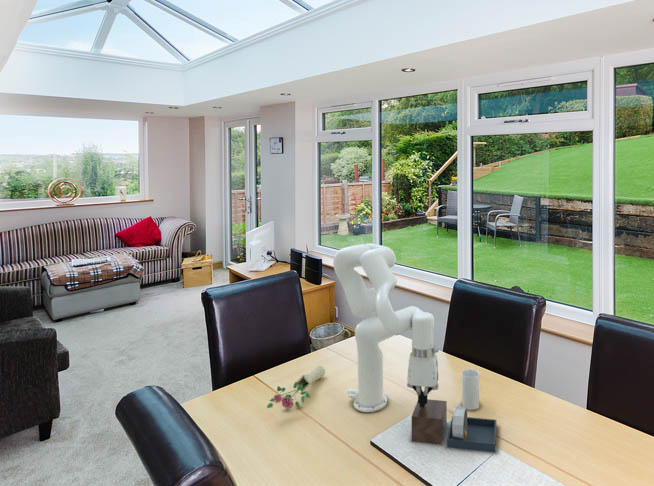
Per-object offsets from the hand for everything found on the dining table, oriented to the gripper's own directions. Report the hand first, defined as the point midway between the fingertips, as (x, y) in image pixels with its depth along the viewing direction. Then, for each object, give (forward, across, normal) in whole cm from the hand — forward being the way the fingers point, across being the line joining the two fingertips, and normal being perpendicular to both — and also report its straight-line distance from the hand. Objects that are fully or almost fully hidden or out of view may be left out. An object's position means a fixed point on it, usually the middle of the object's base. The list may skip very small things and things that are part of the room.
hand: (422, 405), depth 144 cm
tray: (+8, -17, 0) cm, 19 cm away
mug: (+9, -15, -20) cm, 26 cm away
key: (+6, -14, +2) cm, 15 cm away
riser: (+9, -3, 0) cm, 9 cm away
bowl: (+3, -11, +2) cm, 12 cm away
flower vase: (+10, +50, -13) cm, 52 cm away
